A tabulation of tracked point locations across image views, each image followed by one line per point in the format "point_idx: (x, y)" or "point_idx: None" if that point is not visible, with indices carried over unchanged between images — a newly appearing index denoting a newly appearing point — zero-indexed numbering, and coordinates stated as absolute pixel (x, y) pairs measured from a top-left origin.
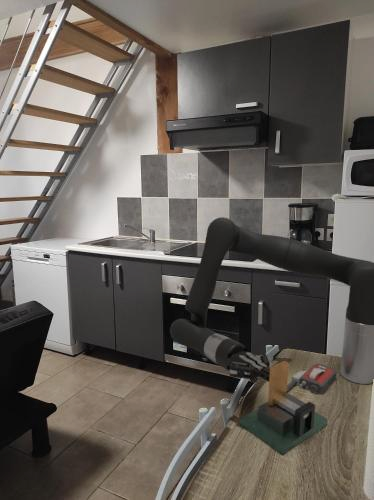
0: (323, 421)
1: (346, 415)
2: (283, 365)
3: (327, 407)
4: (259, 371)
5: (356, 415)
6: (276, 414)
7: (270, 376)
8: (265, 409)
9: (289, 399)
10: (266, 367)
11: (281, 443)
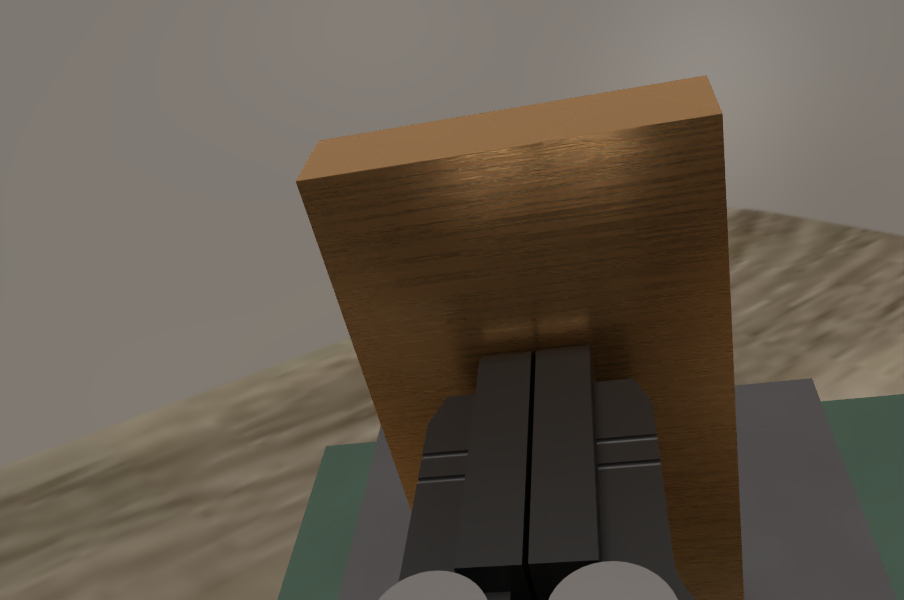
0: (376, 442)
1: (148, 479)
2: (455, 126)
3: (109, 594)
4: (687, 598)
5: (114, 453)
6: (784, 469)
7: (728, 269)
8: (848, 582)
9: None
10: (439, 582)
11: (884, 425)
